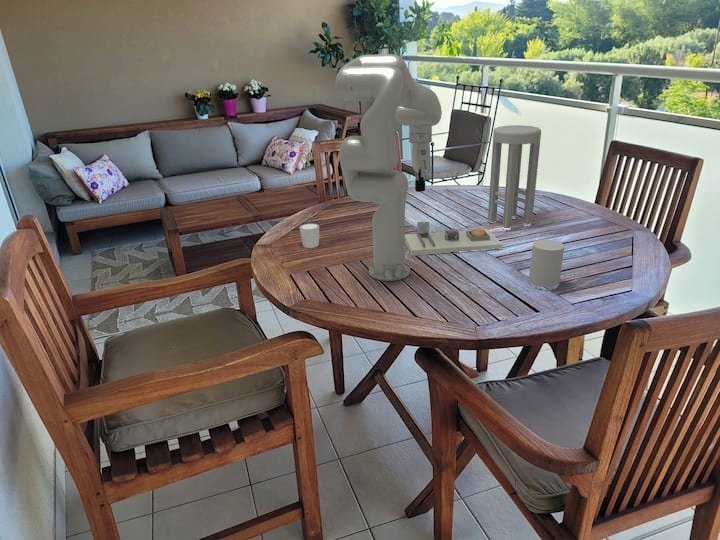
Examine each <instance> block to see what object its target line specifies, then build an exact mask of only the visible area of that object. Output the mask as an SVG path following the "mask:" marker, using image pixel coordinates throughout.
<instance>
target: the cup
mask: <svg viewBox="0 0 720 540" xmlns="http://www.w3.org/2000/svg"><path fill="white" fill-rule="evenodd" d="M564 252H565V244H564V243H563V242H560V241H558V240H555V239H554V240H553V239H538V240H535V241H533V242H532V248H531V258H530V267H529V278H528V282H529V281H530V282H531V283H532V284H534V285H537V286H543V287H551V286H555V285H557V284H559V285H560V283H561V273H562V266H563V259H564V258H563V257H564ZM559 282H560V283H559Z"/></svg>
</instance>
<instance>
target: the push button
mask: <svg viewBox="0 0 720 540" xmlns="http://www.w3.org/2000/svg"><path fill="white" fill-rule="evenodd" d="M471 230H472V231H471V236H472V237H477V236H484V235H485V231H483V230H482V229H471Z"/></svg>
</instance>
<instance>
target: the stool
mask: <svg viewBox="0 0 720 540" xmlns="http://www.w3.org/2000/svg"><path fill="white" fill-rule="evenodd" d="M492 132H493V135H492V149H491V151H492V152H491V167H490V178H489V180H490V182H489V198H488V214H487V221H488V220H489V221H496V222H497V219H498V217H497V216H498V215H497V214H498V206H500V207H503V216H502V217H503V218H502V227H504V228H510V227H513V226H512V224H513V220H512V216H516V217H517V213H518V202H520V203H522V204H524V208H523V218H522V219H523V220H522V224H523V223H526V224H530V223H532V224H533V216H534V206H535V198H536V187H537V178H538V177H537V176H538V167H539V158H540V146H541V137H542V129H541V128H540V127H538V126H532V125H524V124H523V125H515V124H514V125H503V126H502V125H501V126H497V127H495V128H493V131H492ZM502 144H505V145H508V152H507V164H506V178H505V190H504V193H502V192H500V191H499V187H500V174H501V173H500V172H501V160H502V148H503V147H502V146H503V145H502ZM523 145H530V146H529V155H528V163H527V164H528V167H527V177H526V184H525V185H526V188H525V190H523V189H520V188H519V187H520V178H521V169H522V168H521V166H522V157H523V156H522V154H523ZM519 194H521V195H523V196H525V198H522V197H520V196H519ZM499 198H500V199H501V198H502V199H504V202H503V201H501V200H499Z"/></svg>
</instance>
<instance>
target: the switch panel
mask: <svg viewBox="0 0 720 540" xmlns="http://www.w3.org/2000/svg"><path fill="white" fill-rule="evenodd" d="M472 230H473V229H469V230H457V231H458V232H459V235H457V236H453V237H447V234H446V233H445V231H441V232H439V231H437V232H429V233H426V234H427V238H422V237H421V236H420V234H418V233H417V232H416V233H412V234H411V233H409V234H408V233H407V234H406V233H405V245H406V247H407V248H408V251H409V253H410V255H411V257H418V255H419V256H428V255H427V254H434V255H442V254H441V253H449V254H451V253H450V252H459V251H471V250H481V249H492V248H502V249H503V243H502V242H501V241H500V240H499V239H498V238H497V237H496V235H494V234H493V232H492V231H491V230H489V228H485V229H482V228H481V230H483V231H485V235H484V236H477V237H472V236H471V231H472Z"/></svg>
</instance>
